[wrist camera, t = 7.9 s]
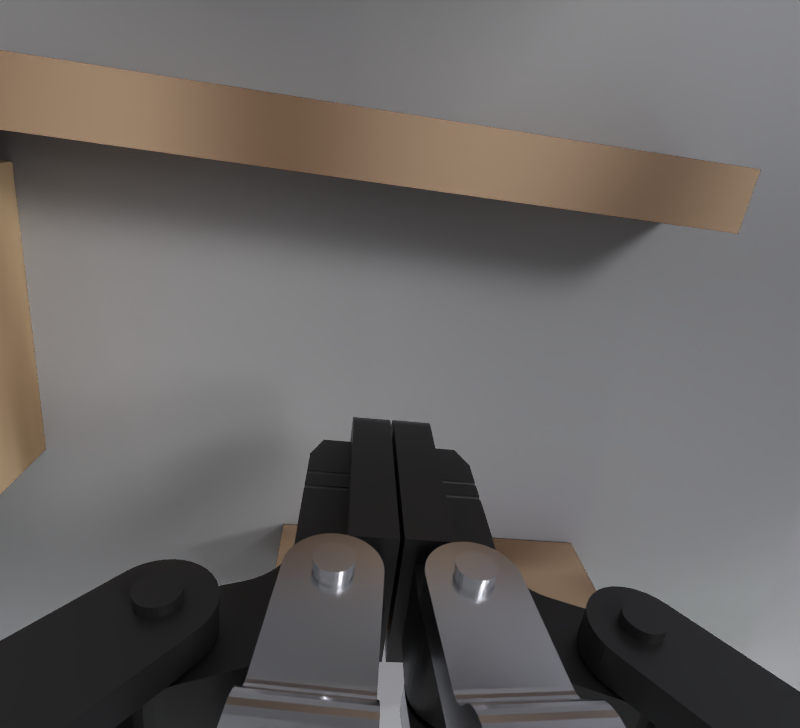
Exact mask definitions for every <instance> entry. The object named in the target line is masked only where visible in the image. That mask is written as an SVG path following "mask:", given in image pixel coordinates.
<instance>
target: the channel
mask: <svg viewBox="0 0 800 728" xmlns="http://www.w3.org/2000/svg"><path fill="white" fill-rule="evenodd" d="M0 130H7V131H14V132H21V133H28V134H35V135H42V136H49V137H56V138H63V139H70V140H78V141H85V142H92V143H99V144H106V145H113V146H120V147H127V148H134V149H141V150H148V151H156V152H163V153H170V154H177V155H184V156H191V157H198V158H205V159H212V160H219V161H226V162H233V163H241V164H248V165H255V166H262V167H269V168H276V169H283V170H290V171H297V172H304V173H311V174H319V175H326V176H333V177H340V178H347V179H354V180H361V181H368V182H375V183H382V184H389V185H397V186H404V187H411V188H418V189H425V190H432V191H439V192H446V193H453V194H460V195H467V196H475V197H482V198H489V199H496V200H503V201H510V202H517V203H524V204H531V205H538V206H545V207H553V208H560V209H567V210H574V211H581V212H588V213H595V214H602V215H609V216H616V217H623V218H631V219H638V220H645V221H652V222H659V223H666V224H673V225H680V226H687V227H694V228H701V229H709V230H716V231H723V232H730V233H737V234H738V233H739V230H740V227H741V224H742V221H743V218H744V216H745V213H746V210H747V207H748V204H749V202H750V199H751V196H752V193H753V190H754V187H755V185H756V182H757V179H758V176H759V173H760V171H761V169H754V168H748V167H742V166H735V165H729V164H723V163H716V162H710V161H704V160H697V159H691V158H684V157H678V156H672V155H665V154H659V153H653V152H646V151H640V150H633V149H627V148H621V147H614V146H608V145H602V144H595V143H589V142H582V141H576V140H570V139H563V138H557V137H551V136H544V135H538V134H532V133H525V132H519V131H512V130H506V129H500V128H493V127H487V126H481V125H474V124H468V123H461V122H455V121H449V120H442V119H436V118H430V117H423V116H417V115H410V114H404V113H398V112H391V111H385V110H379V109H372V108H366V107H360V106H353V105H347V104H340V103H334V102H328V101H321V100H315V99H309V98H302V97H296V96H289V95H283V94H277V93H270V92H264V91H258V90H251V89H245V88H239V87H232V86H226V85H219V84H213V83H207V82H200V81H194V80H188V79H181V78H175V77H168V76H162V75H156V74H149V73H143V72H137V71H130V70H124V69H117V68H111V67H105V66H98V65H92V64H86V63H79V62H73V61H67V60H60V59H54V58H47V57H41V56H35V55H28V54H22V53H16V52H9V51H3V50H0ZM297 526H298V525H285V524H284V525H283V530H282V535H281V541H280V546H279V551H278V557H277V562H276V568H277V567H278V566H279V565H280V564H281V563H282V561H283V558H284V556H285V554H286V553H287V552H288V550H289V549H290V548H291V547H292V546H293V545H294V542H295V537H296V531H297ZM492 539H493V542H494V545H495V548H496V551H498V552H500V553H502V554H503V555H505V556H506V557H507V558H509V559H510V560H511V561H512V562H513V563H514V564H515V565H516V567H517V568H518V569H519V571H520V573H521V574H522V576H523V579H524V581H525V583H526V585H527V587H528V588H529V589H531V590H532V591H535V592H537V593H539V594H541V595H544V596H546V597H549V598H552V599H556V600H559V601H562V602H565V603H569V604H572V605H575V606H578V607H582V608H586V605H587V602H588V600H589V598H590V596H591V595H592V594H593V593H594V592H596V589H595V588H594V586H593V584H592V582H591V580H590V578H589V576H588V575H587V573H586V571H585V569H584V567H583V565H582V563H581V561H580V560H579V558H578V556H577V554H576V552H575V550H574V548H573V546H572V545H571V543H560V542H545V541H529V540H514V539H499V538H492Z"/></svg>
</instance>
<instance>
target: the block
mask: <svg viewBox="0 0 800 728" xmlns="http://www.w3.org/2000/svg"><path fill="white" fill-rule="evenodd" d="M45 450H46V445H45V436H44V428H43V419H42V411H41V402H40V394H39V385H38V377H37V368H36V360H35V351H34V343H33V334H32V326H31V317H30V309H29V300H28V292H27V283H26V275H25V266H24V258H23V249H22V241H21V232H20V224H19V215H18V207H17V198H16V190H15V181H14V173H13V164H12V162H9V161H1V160H0V494H1V493H2V492H3V491H4V490H5V489H6V488H7V487H8V486H9V485H10V484H11V483H12V482H13V481H14V480H15V479H16V478H17V477H18V476H19V475H20V474H21V473H22V472H23V471H24V470H25V469H26V468H27V467H28V466H29V465H30V464H31V463H32V462H33V461H34V460H35V459H36V458H37V457H38V456H39V455H40V454H41V453H42V452H44V451H45Z"/></svg>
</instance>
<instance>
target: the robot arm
mask: <svg viewBox="0 0 800 728" xmlns="http://www.w3.org/2000/svg"><path fill="white" fill-rule="evenodd" d="M474 483H475V482H474V479H473V476H472V473H471V469H470V466H469V465H468V464H467V463H466V462H465V461H464V460H463V459H462V458H461V457H460V456H459V455H458V454H457V452H456V451H455V450H446V449H435V445H434V441H433V436H432V432H431V427H430V424H429V423H418V422H407V421H395V420H393V421H392V424H391V423H390V420H382V419H370V418H358V417H353V423H352V432H351V442H344V441H332V440H323V441H322V442H321V443H320V444H319V445H318V446H317V447H316V448H315V449H314V450H313V451H312V452H311V453H310V458H309V464H308V469H307V475H306V481H305V488H304V492H303V498H302V503H301V509H300V514H299V520H298V526H297V531H296V537H295V542H294V545H293V546H292V547H291V548H290V549H289V550H288V552H287V553H286V554H285V556H284V558H283V561H282V563H281V564H280V565H279V566H278V567H277V568H275V569H274V570H272V571H271V572H269V573H267V574H265V575H263V576H260V577H257V578H254V579H251V580H247V581H243V582H237V583H232V584H227V585H222V586H218V583H217V580H216V579H215V577H214V576H213V574H211V573H210V572H209V571H208V570H207V569H206V568H204V567H202V566H201V565H198V564H196V563H193V562H189V561H185V560H175V559H173V560H159V561H153V562H149V563H145V564H142V565H139V566H136V567H134V568H132V569H130V570H128V571H126V572H124V573H122V574H120V575H118V576H117V577H115V578H113V579H111V580H109V581H108V582H106V583H104V584H102V585H100V586H99V587H97V588H95V589H93V590H91V591H90V592H88V593H86V594H84V595H82V596H81V597H79V598H77V599H75V600H73V601H71V602H70V603H68V604H66V605H64V606H62V607H61V608H59V609H57V610H55V611H53V612H52V613H50V614H48V615H46V616H44V617H43V618H41V619H39V620H37V621H35V622H34V623H32V624H30V625H28V626H26V627H25V628H23V629H21V630H19V631H17V632H16V633H14V634H12V635H10V636H8V637H7V638H5V639H3V640H1V641H0V728H379V719H380V702H379V700H377V686H378V670H379V662H382V656H383V649H384V643H385V651H386V662H403V668H404V688H403V693H402V699H401V706H400V715H401V716H400V717H401V724H402V728H800V692H799V691H798V690H796V689H795V688H793V687H792V686H790V685H789V684H787V683H786V682H784V681H782V680H781V679H779V678H778V677H776V676H775V675H773V674H772V673H770V672H769V671H767V670H766V669H764V668H763V667H761V666H760V665H758V664H757V663H755V662H754V661H752V660H751V659H749V658H747V657H746V656H744V655H743V654H741V653H740V652H738V651H737V650H735V649H734V648H732V647H731V646H729V645H728V644H726V643H725V642H723V641H722V640H720V639H719V638H717V637H715V636H714V635H712V634H711V633H709V632H708V631H706V630H705V629H703V628H702V627H700V626H699V625H697V624H696V623H694V622H693V621H691V620H690V619H688V618H687V617H685V616H683V615H682V614H680V613H679V612H677V611H676V610H674V609H673V608H671V607H670V606H668V605H667V604H665V603H664V602H662V601H660V600H659V599H657V598H655V597H653V596H651V595H649V594H647V593H644V592H641V591H638V590H635V589H631V588H626V587H606V588H602V589H599V590H598V591H596V592H594V593H593V594H592V595H591V596H590V598H589V600H588V602H587V605H586V608H582V607H578V606H575V605H572V604H569V603H565V602H562V601H559V600H556V599H552V598H549V597H546V596H544V595H541V594H539V593H537V592H535V591H532V590H531V589H529V588H528V587H527V585H526V583H525V581H524V579H523V576H522V574H521V573H520V571H519V569H518V568H517V567H516V565H515V564H514V563H513V562H512V561H511V560H510V559H509V558H507V557H506V556H505V555H503V554H502V553H500V552H498V551H496V548H495V545H494V542H493V539H492V536H491V533H490V529H489V526H488V523H487V520H486V517H485V514H484V510H483V507H482V504H481V501H480V500H479V495H478V491H477V488H476V486H474Z"/></svg>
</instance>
